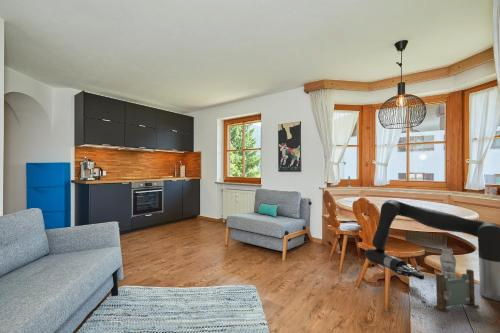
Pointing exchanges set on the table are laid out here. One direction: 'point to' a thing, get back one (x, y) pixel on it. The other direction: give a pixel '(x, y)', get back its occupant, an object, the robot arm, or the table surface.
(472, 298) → the hinge post
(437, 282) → the post
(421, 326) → the table surface
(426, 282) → the table surface
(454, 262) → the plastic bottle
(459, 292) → the gate
